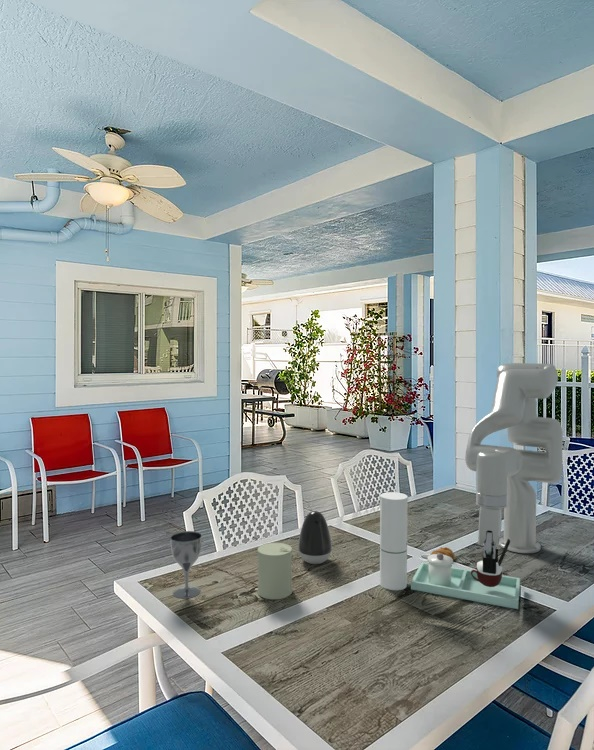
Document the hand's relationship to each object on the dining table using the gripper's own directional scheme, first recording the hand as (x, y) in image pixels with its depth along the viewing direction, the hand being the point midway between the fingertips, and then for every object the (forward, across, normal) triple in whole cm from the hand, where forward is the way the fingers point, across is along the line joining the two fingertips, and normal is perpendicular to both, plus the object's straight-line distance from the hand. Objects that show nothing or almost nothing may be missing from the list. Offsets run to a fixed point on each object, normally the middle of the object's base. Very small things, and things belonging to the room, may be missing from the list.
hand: (490, 567), depth 136 cm
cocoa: (+5, 0, 0) cm, 5 cm away
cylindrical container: (+8, +6, -24) cm, 26 cm away
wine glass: (+7, +31, -73) cm, 80 cm away
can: (+8, +21, -52) cm, 57 cm away
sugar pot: (+6, 0, -13) cm, 14 cm away
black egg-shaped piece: (+8, -2, -50) cm, 51 cm away
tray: (+7, 0, -6) cm, 10 cm away
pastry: (+8, -17, -15) cm, 24 cm away
